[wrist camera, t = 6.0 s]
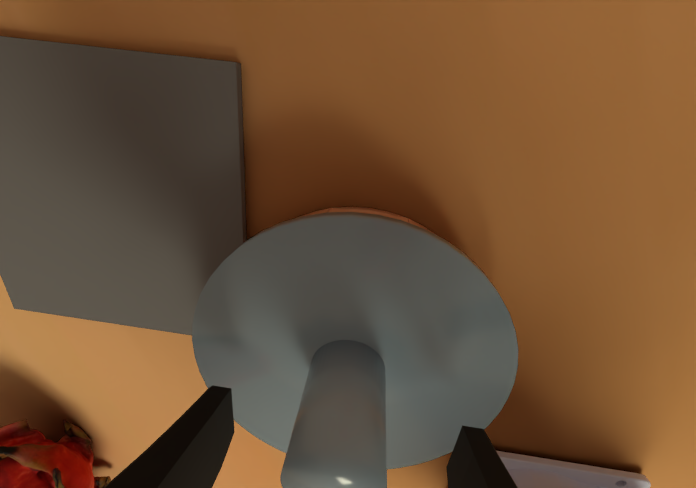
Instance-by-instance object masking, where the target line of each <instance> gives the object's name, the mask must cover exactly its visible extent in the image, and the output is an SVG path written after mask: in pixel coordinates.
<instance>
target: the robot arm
mask: <svg viewBox="0 0 696 488" xmlns="http://www.w3.org/2000/svg"><path fill="white" fill-rule="evenodd" d="M233 434H234V420H233V405H232V390H231V388H226V387H220V386H213V385H212V386H211V387H209V388H208V389H207V390H206V392H205V393H204V394H203V395H202V396H201V397H200V398H199V399H198V400H197V401H196V402H195V403H194V404H193V405H192V406H191V407H190V408H189V409H188V410H187V411H186V412H185V413H184V414H183V415H182V416H181V417H180V418H179V419H178V420H177V421H176V422H175V423H174V424H173V425H172V426H171V427H170V428H169V429H168V430H167V431H166V432H165V433H163V434H162V435H161V436H160V437H159V438H158V439H157V440H156V441H155V442H154V443H153V444H152V445H151V446H150V447H149V448H148V449H147V450H146V451H144V452H143V453H142V454H141V455H140V456H139V457H138V458H137V459H136V460H134V461H133V462H132V463H131V464H130V465H129V466H128V467H127V468H125V469H124V470H123V471H122V472H121V473H120V474H119V475H118V476H116V477H115V478H114V479H113V480H112V481H111V482H110V483H108V484H107V485H106V486H105V487H104V488H212V486H213V484H214V482H215V480H216V478H217V475H218V473H219V471H220V469H221V467H222V464H223V461H224V459H225V456H226V453H227V451H228V448H229V445H230V442H231V440H232V437H233ZM447 476H448V488H650V486H651V484H650V482H649V480H648V479H647V478H646V476H644V475H642V474H639V473H633V472H627V471H621V470H614V469H608V468H602V467H596V466H590V465H583V464H577V463H571V462H565V461H558V460H552V459H546V458H540V457H534V456H527V455H521V454H515V453H509V452H502V451H496V450H495V448H494V446H493V445H492V443H491V441H490V440H489V438H488V436H487V434H486V433H485V431H484V430H483V429H481V428H475V427H468V426H462V428H461V430H460V433H459V436H458V438H457V441H456V444H455V446H454V449H453V452H452V454H451V457H450V460H449V462H448V465H447Z"/></svg>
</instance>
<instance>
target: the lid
mask: <svg viewBox="0 0 696 488" xmlns="http://www.w3.org/2000/svg"><path fill="white" fill-rule="evenodd" d="M192 342H193V348H194V354H195V358H196V362H197V365H198V368H199V371H200V373H201V375H202V377H203V379H204V381H205V384H206V386H207V387H208V388H209V387H211V386H212V385H213V386H220V387H226V388H231V390H232V405H233V419H234V420H235V421H236V422H237V423H238V424H239V425H241V426H242V427H243V428H244V429H246V430H247V431H248V432H250V433H251V434H252V435H254V436H256V437H257V438H259V439H260V440H262V441H263V442H265V443H267V444H269V445H271V446H273V447H274V448H276V449H278V450H280V451H283V452H285V453H286V457H285V461H284V464H283V468H282V472H281V484H282V487H283V488H387V469H394V468H401V467H407V466H412V465H417V464H420V463H424V462H427V461H431V460H433V459H436V458H438V457H441V456H443V455H446V454H448V453H450V452H452V451H453V449H454V446H455V444H456V441H457V438H458V436H459V433H460V430H461V428H462V426H468V427H475V428H481V429H483V430H484V429H485V428H486V427H487V426H489V424H490V423H491V422H492V421H493V420H494V418H495V417H496V416H497V415H498V414H499V413H500V411H501V409H502V408H503V406H504V404H505V403H506V401H507V399H508V397H509V395H510V392H511V390H512V387H513V385H514V382H515V377H516V373H517V368H518V344H517V338H516V331H515V328H514V325H513V322H512V319H511V316H510V314H509V312H508V310H507V308H506V306H505V304H504V302H503V301H502V299H501V297H500V295H499V293H498V292H497V290H496V288H495V287H494V285H493V284H492V282H491V281H490V280H489V279H488V277H487V276H486V275H485V273H484V272H483V271H482V270H481V268H480V267H479V266H477V265H476V264H475V263H474V262H473V261H472V260H471V259H470V258H469V257H468V256H467V255H466V254H465V253H464V252H462V251H461V250H459V249H458V248H457V247H455V246H454V245H452V244H451V243H449V242H448V241H447V240H445V239H443V238H441V237H439V236H437V235H436V234H434V233H432V232H430V231H428V230H426V229H424V228H421V227H419V226H416V225H413V224H411V223H408V222H405V221H402V220H399V219H395V218H390V217H386V216H382V215H377V214H369V213H359V212H326V213H319V214H312V215H306V216H301V217H298V218H294V219H291V220H287V221H284V222H281V223H279V224H276V225H274V226H272V227H270V228H267V229H265V230H263V231H261V232H259V233H258V234H256V235H255V236H253V237H251V238H250V239H248V240H247V241H245V242H244V243H243V244H241V245H240V246H239V247H238V248H237V249H236V250H235V251H233V252H232V253H231V254H230V255H229V256H228V257H227V258H226V259H225V260H224V261H223V262H222V263H221V264H220V266H219V267H218V268H217V269H216V270H215V272H214V273H213V274H212V275H211V276H210V278H209V280H208V281H207V283H206V285H205V286H204V288H203V290H202V292H201V294H200V297H199V299H198V302H197V305H196V308H195V313H194V318H193V324H192Z"/></svg>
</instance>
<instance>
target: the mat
mask: <svg viewBox="0 0 696 488" xmlns="http://www.w3.org/2000/svg"><path fill="white" fill-rule="evenodd" d="M245 241H247V232H246V202H245V172H244V142H243V112H242V81H241V63H237V62H230V61H221V60H212V59H203V58H194V57H185V56H176V55H167V54H157V53H148V52H139V51H130V50H121V49H112V48H103V47H94V46H85V45H76V44H67V43H58V42H49V41H40V40H31V39H22V38H12V37H3V36H0V275H1V277H2V280H3V282H4V285H5V287H6V290H7V292H8V294H9V297H10V299H11V302H12V304H13V307H14V309H21V310H28V311H34V312H41V313H47V314H54V315H61V316H67V317H74V318H81V319H87V320H94V321H100V322H107V323H114V324H120V325H127V326H133V327H140V328H147V329H153V330H160V331H167V332H173V333H180V334H186V335H192V324H193V318H194V313H195V308H196V305H197V302H198V299H199V297H200V294H201V292H202V290H203V288H204V286H205V285H206V283H207V281H208V280H209V278H210V276H211V275H212V274H213V273H214V272H215V270H216V269H217V268H218V267H219V266H220V264H221V263H222V262H223V261H224V260H225V259H226V258H227V257H228V256H229V255H230V254H231V253H232V252H233V251H235V250H236V249H237V248H238V247H239V246H240V245H241V244H243V243H244V242H245Z"/></svg>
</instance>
